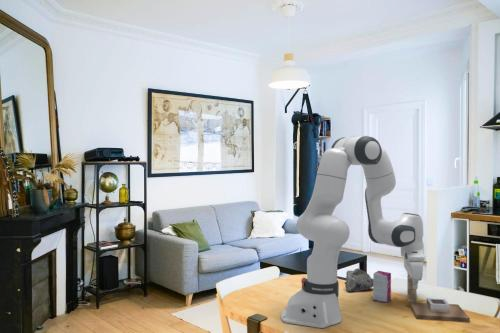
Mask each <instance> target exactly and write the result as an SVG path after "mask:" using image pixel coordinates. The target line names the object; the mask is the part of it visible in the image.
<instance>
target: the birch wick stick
mask: <svg viewBox="0 0 500 333" xmlns="http://www.w3.org/2000/svg"><path fill="white" fill-rule="evenodd" d="M406 277H407V282H406V284H407V286H406V287H407V301H408V302H409V303H410V302H417V301H418V300H417V299H418V298H417V297H418V296H417V290H418V289H413V287H412V284H413V281H412V278H411V277H410V276H408V275H406Z"/></svg>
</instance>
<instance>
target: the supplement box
mask: <svg viewBox="0 0 500 333" xmlns="http://www.w3.org/2000/svg"><path fill="white" fill-rule="evenodd" d="M372 279H373V287H372V289H373V292H372V301H374V302H377V301H378V302H379V303H382V302H383V304H387V303H388V302H389V301H391V300H392V299H391V295H392V294H391V293H392V292H391V290H392V273H391V272H388V271H387V272H386V271H382V270H376V271H375V272H373V278H372Z"/></svg>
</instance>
